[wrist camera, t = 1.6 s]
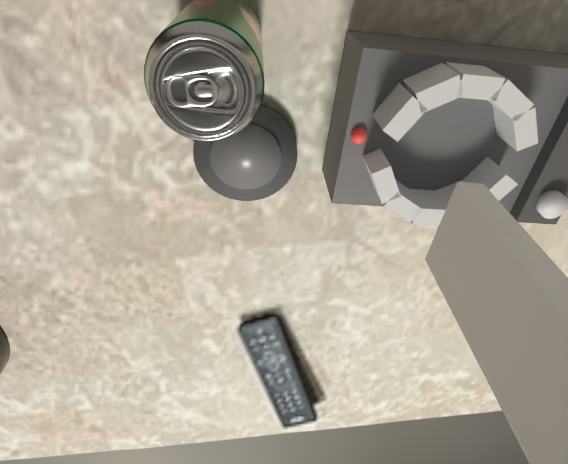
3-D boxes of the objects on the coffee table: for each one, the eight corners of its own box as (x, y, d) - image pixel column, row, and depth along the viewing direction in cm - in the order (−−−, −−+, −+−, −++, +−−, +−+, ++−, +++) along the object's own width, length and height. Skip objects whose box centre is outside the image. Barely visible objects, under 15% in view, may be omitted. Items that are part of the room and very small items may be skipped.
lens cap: (195, 192, 33) (193, 199, 32) (193, 97, 29) (191, 102, 28) (290, 198, 34) (291, 205, 33) (302, 106, 30) (304, 111, 29)
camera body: (322, 169, 33) (337, 223, 27) (346, 30, 27) (373, 58, 21) (513, 183, 34) (568, 236, 28) (574, 54, 29) (660, 87, 23)
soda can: (262, 74, 28) (265, 148, 19) (186, 75, 28) (150, 151, 18) (260, -12, 25) (263, 23, 16) (175, -12, 25) (125, 23, 15)
